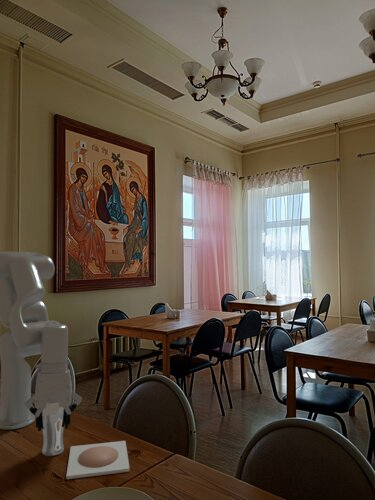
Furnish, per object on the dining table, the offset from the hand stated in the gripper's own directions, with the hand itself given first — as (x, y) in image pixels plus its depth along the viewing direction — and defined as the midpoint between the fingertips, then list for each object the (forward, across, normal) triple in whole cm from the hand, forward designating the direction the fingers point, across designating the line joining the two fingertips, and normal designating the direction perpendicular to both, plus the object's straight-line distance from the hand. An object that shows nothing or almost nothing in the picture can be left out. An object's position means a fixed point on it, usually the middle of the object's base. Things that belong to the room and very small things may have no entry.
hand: (53, 427), depth 110 cm
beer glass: (+7, 0, 0) cm, 7 cm away
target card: (+7, +13, -8) cm, 17 cm away
